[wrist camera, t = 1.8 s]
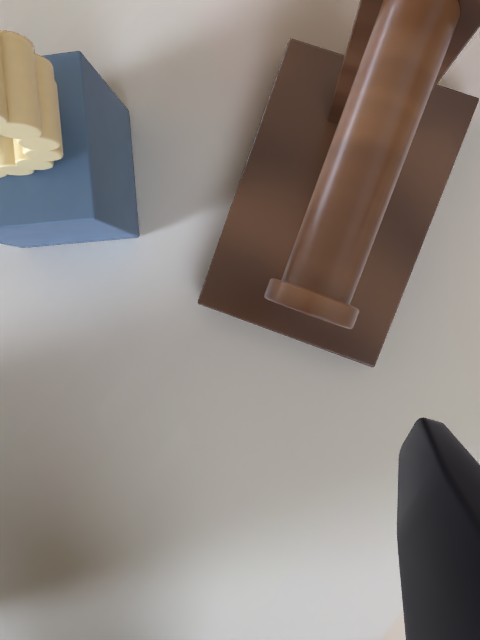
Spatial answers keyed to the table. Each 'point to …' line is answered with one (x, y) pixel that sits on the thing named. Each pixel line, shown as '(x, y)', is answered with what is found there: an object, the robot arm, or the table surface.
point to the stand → (346, 178)
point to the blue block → (77, 169)
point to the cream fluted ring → (27, 108)
